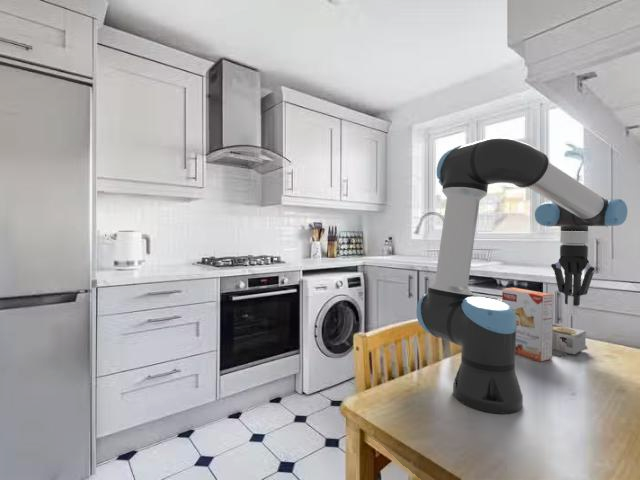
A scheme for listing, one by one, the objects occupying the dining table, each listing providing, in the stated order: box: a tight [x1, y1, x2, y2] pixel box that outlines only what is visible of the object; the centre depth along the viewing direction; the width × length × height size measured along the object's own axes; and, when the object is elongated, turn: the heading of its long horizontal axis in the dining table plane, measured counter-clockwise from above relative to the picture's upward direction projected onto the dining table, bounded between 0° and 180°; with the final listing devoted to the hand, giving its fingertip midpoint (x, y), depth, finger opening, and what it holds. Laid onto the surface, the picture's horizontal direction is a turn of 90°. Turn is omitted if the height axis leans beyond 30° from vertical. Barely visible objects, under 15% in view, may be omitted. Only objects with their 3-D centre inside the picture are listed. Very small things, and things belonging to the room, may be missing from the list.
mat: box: [552, 345, 588, 358], centre depth 124 cm, size 18×14×1 cm
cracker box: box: [501, 287, 554, 363], centre depth 116 cm, size 14×6×21 cm, turn 25°
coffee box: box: [552, 324, 587, 355], centre depth 123 cm, size 9×6×16 cm
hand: (571, 314), depth 118 cm, fingers closed
